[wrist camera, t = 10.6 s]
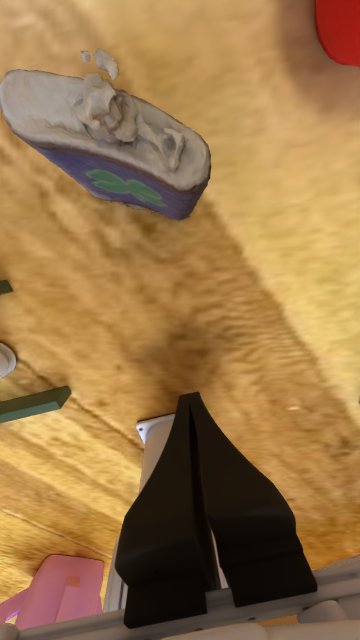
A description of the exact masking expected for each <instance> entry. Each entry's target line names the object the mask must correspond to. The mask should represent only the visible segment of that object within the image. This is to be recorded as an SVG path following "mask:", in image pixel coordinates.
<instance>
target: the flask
mask: <svg viewBox="0 0 360 640" xmlns="http://www.w3.org/2000/svg"><path fill="white" fill-rule="evenodd" d="M93 56H94V58H95V61H96V63H97V65H98V67H99V68H102V69H104V70H105V71H107V72H108V73H109V75H110V76H111V78H112V79H113V80H114V79H115V77H116V76H117V75H119V69H118V67H117V65H116V62H115V60H114V59H113V58H112V57H111V56H110V55H109V54H108V53H107V52H105V51H104V50H103V49H98V50H97V51H96V52H95V53H94V54H93ZM81 58H82V59H83V61H84V62H90V54H89V52H88V51H81ZM0 108H1V110H2V113H3V115H4V117H5V120H6V122H7V124H8V126H9V127H10V128H11V130H12V132H13V133H14V134H15V135H17V136H18V137H19V138H21V139H22V140H23V141H25V142H26V143H27V144H29V145H30V146H32V147H33V148H34V149H36V150H37V151H39V152H40V153H41V154H43V155H44V156H45V157H46V158H47V159H49V160H50V161H51V162H53V163H54V164H55V165H57V166H58V167H60V168H61V169H62V170H64V171H65V172H66V173H67V174H68V175H70V176H71V177H72V178H74V179H75V180H76V181H77V182H78V183H79V184H81V185H82V186H83V187H84V188H85V189H86V190H88V191H89V192H90V193H91V194H92V195H94V196H96V197H98V198H101V199H104V200H106V201H107V202H112V201H117V202H120V203H123V204H125V205H126V206H128V207H132V208H133V209H138V210H139V209H141V208H142V209H146V208H147V209H149V210H151V212H152V213H157V212H158V213H161V214H162V215H164V217H168V218H170V219H173V220H176V221H181V220H183V219H185V218H186V217H190V216H189V214H190V213H191V212H192V211H193V209H194V207H195V206H196V203H197V201H198V200H199V198H200V196H201V195H202V193H203V191H204V189H205V188H206V186H207V185H208V181H209V179H210V171H211V162H210V160H211V154H210V150H209V147H208V144H207V143H206V142H205V141H204V140H203V138H202V137H201V136H200V135H199V134H198V133H196V132H195V131H193V130H192V129H190V128H189V127H187V126H185V125H183V124H182V123H181V122H179V121H178V120H177V119H175V118H174V117H172V116H171V115H169V114H167V113H165V112H164V111H162V110H160V109H159V108H157V107H155V106H153V105H152V104H150V103H148V102H146V101H144V100H143V99H140V98H138V97H136V96H134V95H130V94H128V93H127V92H126V91H124V90H118V89H116V88H114V86H113V84H112V83H111V82H109V81H108V80H103V78H102V76H101V75H100V73H94V74H86V75H85V77H84V79H82V78H79V77H71V76H63V75H57V74H54V73H49V72H44V71H38V70H34V71H28V70H21V69H17V70H11V71H9V72H7V73H6V74H5V76H4V78H3V81H2V83H1V85H0Z"/></svg>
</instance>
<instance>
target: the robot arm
mask: <svg viewBox="0 0 360 640" xmlns="http://www.w3.org/2000/svg"><path fill="white" fill-rule="evenodd" d="M136 428H137V430H138V432H139V434H140V437H141V439H142V441H143V443H144V445H145V449H144V456H143V464H142V472H141V480H140V488H139V496H138V497H137V499H136V500H135V502H134V503H133V505H132V506H131V508H130V509H129V511H128V512H127V514H126V515H125V518H124V521H123V525H122V529H121V532H120V533H119V534H118V536H117V539H116V543H115V547H114V551H113V556H112V561H111V566H110V571H109V576H108V582H107V588H106V594H105V600H104V606H103V613H100V614H96V615H91V616H86V617H81V618H76V619H71V620H66V621H61V622H56V623H51V624H46V625H42V626H37V627H32V628H27V629H22V630H19V628H18V627H17V626H15V625H14V624H11V623H0V640H360V561H356V562H351V563H346V564H341V565H336V566H331V567H326V568H321V569H316V570H311V569H310V566H309V564H308V562H307V560H306V557H305V555H304V553H303V548H302V545H301V543H300V541H299V539H298V536H297V534H296V520H295V517H294V514H293V512H292V511H291V509H290V507H289V505H288V504H287V502H286V501H285V499H284V498H283V496H282V495H281V493H280V492H279V491H278V489H277V488H276V487H275V485H274V484H273V483H272V482H271V481H270V480H269V479H268V478H267V477H266V476H264V475H263V474H262V473H261V472H260V471H259V470H258V469H257V468H256V467H254V466H253V465H252V464H251V463H250V462H249V461H248V460H247V459H246V458H245V457H244V456H243V455H242V454H241V453H240V452H239V451H238V449H237V448H236V447H235V446H234V445H233V444H232V443H231V442H230V441H229V439H228V438H227V437H226V436H225V435H224V433H223V432H222V431H221V429H220V428H219V427H218V425H217V424H216V423H215V421H214V420H213V418H212V417H211V415H210V413H209V412H208V410H207V409H206V407H205V405H204V403H203V401H202V399H201V396H200V393H199V392H198V391H197V392H193V393H189V394H185V395H180V396H179V400H178V405H177V410H176V413H175V414H171V415H167V416H163V417H158V418H154V419H150V420H146V421H141V422H138V423H137V425H136ZM297 614H298V616H297V620H298V623H299V624H287V625H273V626H260V625H259V624H254V623H256V622H261V621H266V620H272V619H276V618H282V617H287V616H292V615H297Z"/></svg>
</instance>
